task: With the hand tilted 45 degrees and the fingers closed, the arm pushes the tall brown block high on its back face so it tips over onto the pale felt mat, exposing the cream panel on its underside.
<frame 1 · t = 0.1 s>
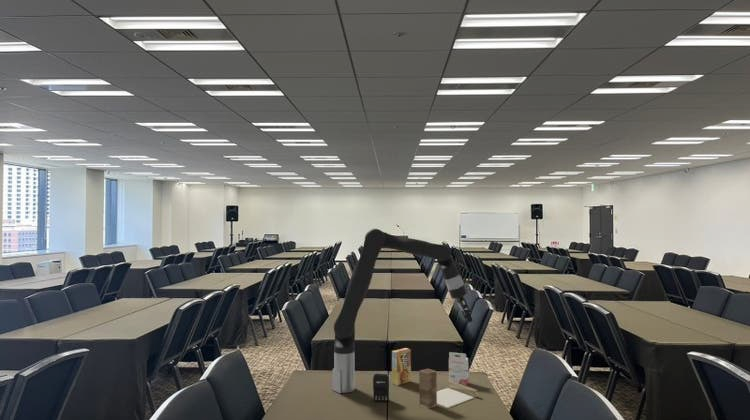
hand: (468, 319, 212), 31 cm above the table, tool tilted 20°, fingers open, 8 cm apart
battery charger: (381, 401, 198), on the table
candy box: (401, 383, 220), on the table
birch lip: (462, 392, 207), on the table
felt mat: (447, 398, 201), on the table
brown block: (428, 405, 193), on the table
ink cartridge box: (458, 383, 219), on the table
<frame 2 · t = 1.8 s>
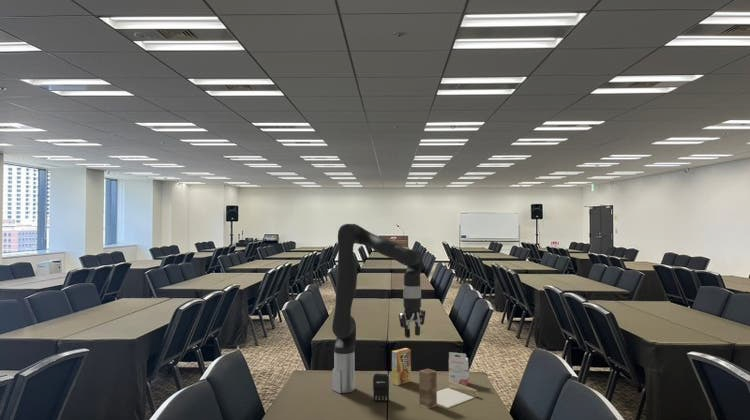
hand: (412, 336, 198), 27 cm above the table, tool pointing down, fingers open, 5 cm apart
nothing on the table moved.
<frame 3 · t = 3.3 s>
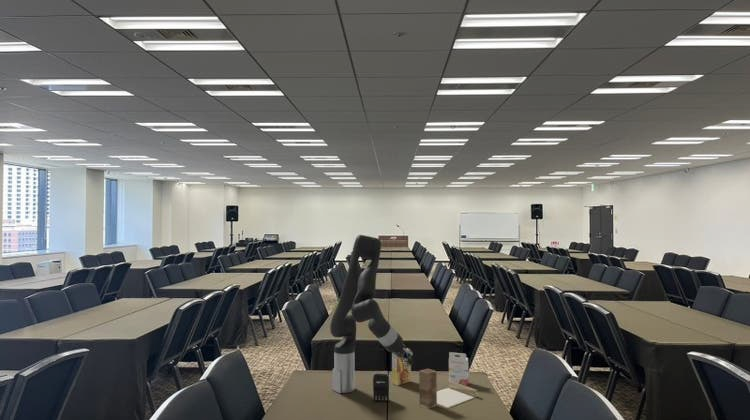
hand: (411, 363, 188), 19 cm above the table, tool tilted 45°, fingers closed
nothing on the table moved.
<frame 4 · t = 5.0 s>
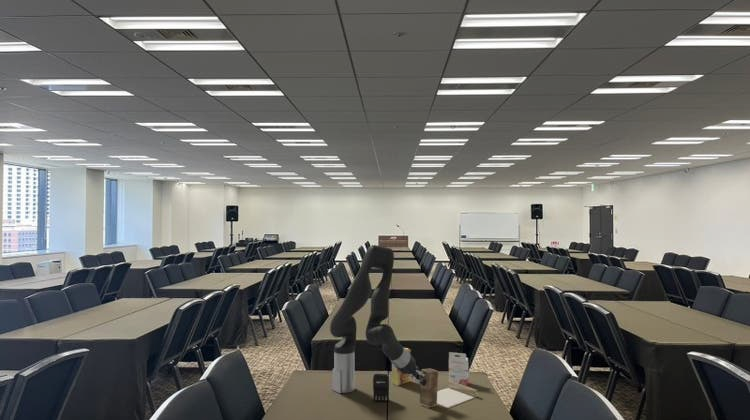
hand: (424, 383, 192), 9 cm above the table, tool tilted 45°, fingers closed
brown block: (428, 404, 193), on the table, touching gripper
everything else where it was.
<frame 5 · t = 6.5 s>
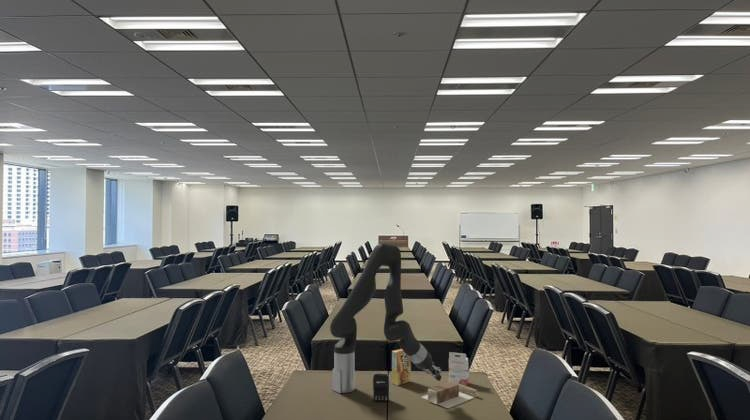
hand: (439, 378, 198), 9 cm above the table, tool tilted 45°, fingers closed
brown block: (432, 396, 195), point 3 cm above the table, tilted 90°, touching felt mat
everything else where it was.
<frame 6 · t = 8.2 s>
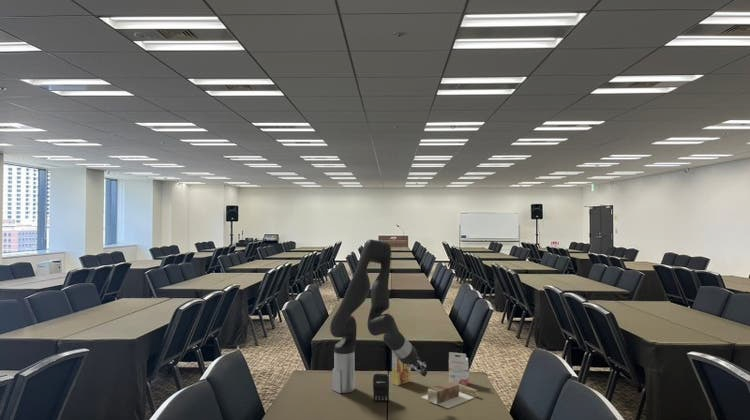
hand: (424, 374, 193), 13 cm above the table, tool tilted 45°, fingers closed
nothing on the table moved.
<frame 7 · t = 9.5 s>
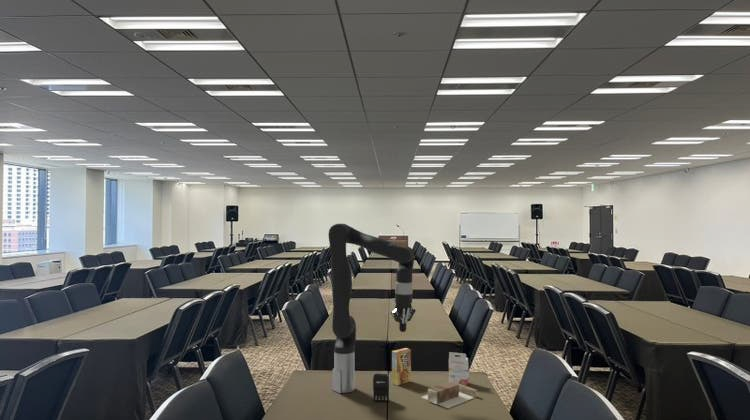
hand: (402, 331, 205), 28 cm above the table, tool pointing down, fingers closed
nothing on the table moved.
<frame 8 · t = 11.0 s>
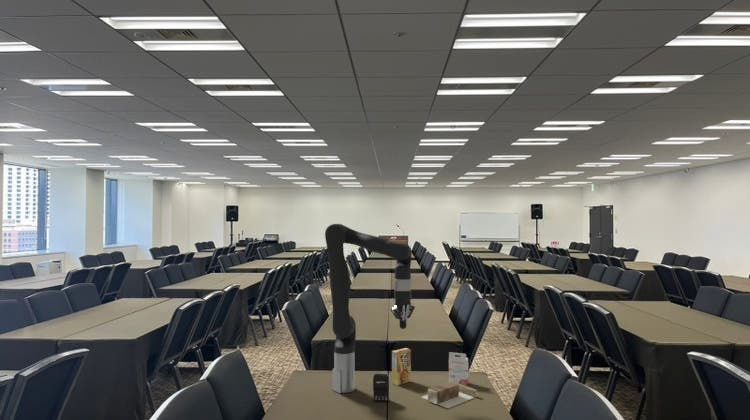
hand: (403, 328, 205), 29 cm above the table, tool pointing down, fingers closed
nothing on the table moved.
at the end: brown block tilted 90°; brown block inside the target area (8.6 cm from its centre), point 2.9 cm above the table; the gripper is holding nothing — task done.
